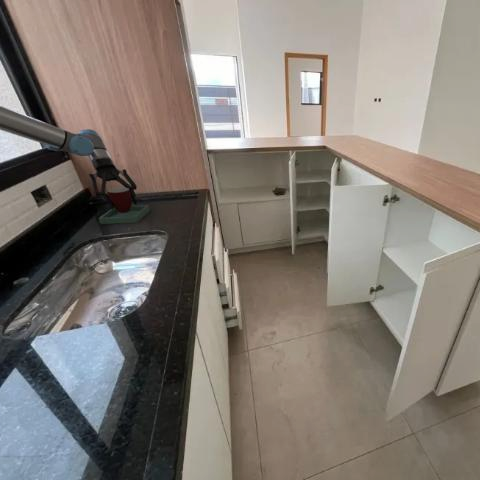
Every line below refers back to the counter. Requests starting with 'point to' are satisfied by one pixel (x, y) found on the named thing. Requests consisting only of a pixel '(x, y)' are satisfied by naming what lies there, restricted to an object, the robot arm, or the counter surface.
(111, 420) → the counter surface
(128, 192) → the mug
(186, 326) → the counter surface
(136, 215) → the tray
